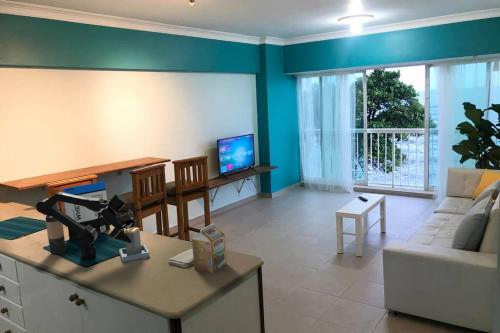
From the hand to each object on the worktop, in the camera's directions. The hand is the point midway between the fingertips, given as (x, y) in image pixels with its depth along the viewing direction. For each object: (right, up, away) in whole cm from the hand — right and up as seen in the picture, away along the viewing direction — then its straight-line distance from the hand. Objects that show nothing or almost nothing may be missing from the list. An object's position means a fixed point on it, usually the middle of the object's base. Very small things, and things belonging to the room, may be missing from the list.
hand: (135, 239), depth 204 cm
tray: (-1, -8, +2) cm, 9 cm away
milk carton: (+39, -10, -16) cm, 43 cm away
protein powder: (-38, -4, +39) cm, 55 cm away
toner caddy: (-1, -8, +2) cm, 8 cm away
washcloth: (+28, -9, -7) cm, 30 cm away
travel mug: (-44, -9, +12) cm, 46 cm away
